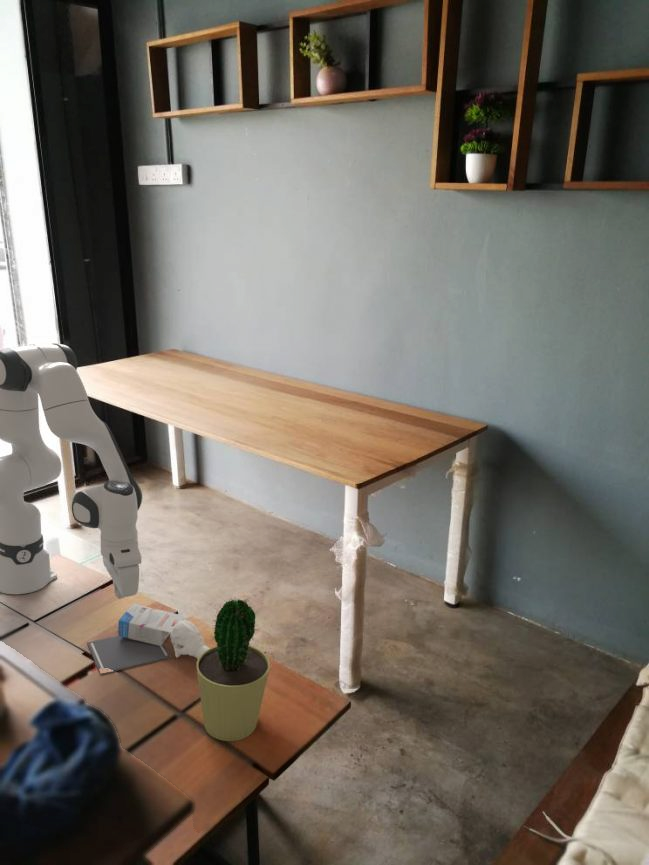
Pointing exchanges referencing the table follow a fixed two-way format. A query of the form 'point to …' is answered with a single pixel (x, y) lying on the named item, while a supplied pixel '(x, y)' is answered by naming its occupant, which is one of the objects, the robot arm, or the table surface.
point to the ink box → (147, 624)
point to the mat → (125, 653)
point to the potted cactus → (232, 675)
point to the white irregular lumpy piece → (187, 639)
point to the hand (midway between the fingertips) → (119, 595)
